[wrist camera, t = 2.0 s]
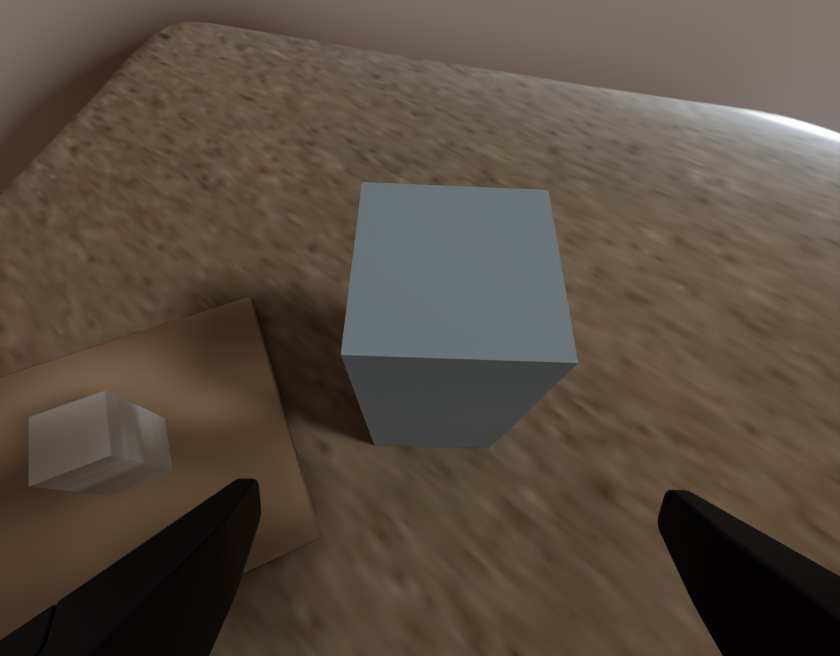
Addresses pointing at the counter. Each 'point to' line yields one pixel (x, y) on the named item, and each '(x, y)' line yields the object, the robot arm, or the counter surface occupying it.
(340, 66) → the counter surface
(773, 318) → the counter surface
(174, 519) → the post base
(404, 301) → the tall slate pillar
